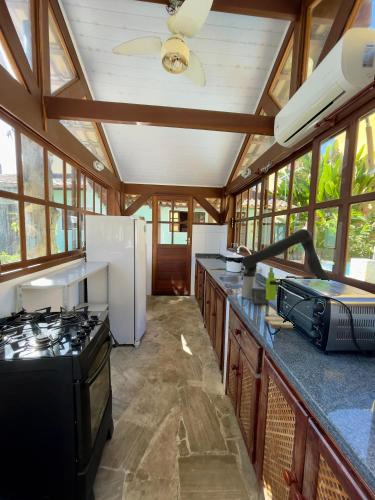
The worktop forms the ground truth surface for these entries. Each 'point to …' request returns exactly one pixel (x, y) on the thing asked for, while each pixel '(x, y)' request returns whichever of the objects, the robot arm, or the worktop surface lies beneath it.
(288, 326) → the birch board
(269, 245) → the robot arm
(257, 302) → the small box
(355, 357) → the worktop surface
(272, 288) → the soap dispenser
